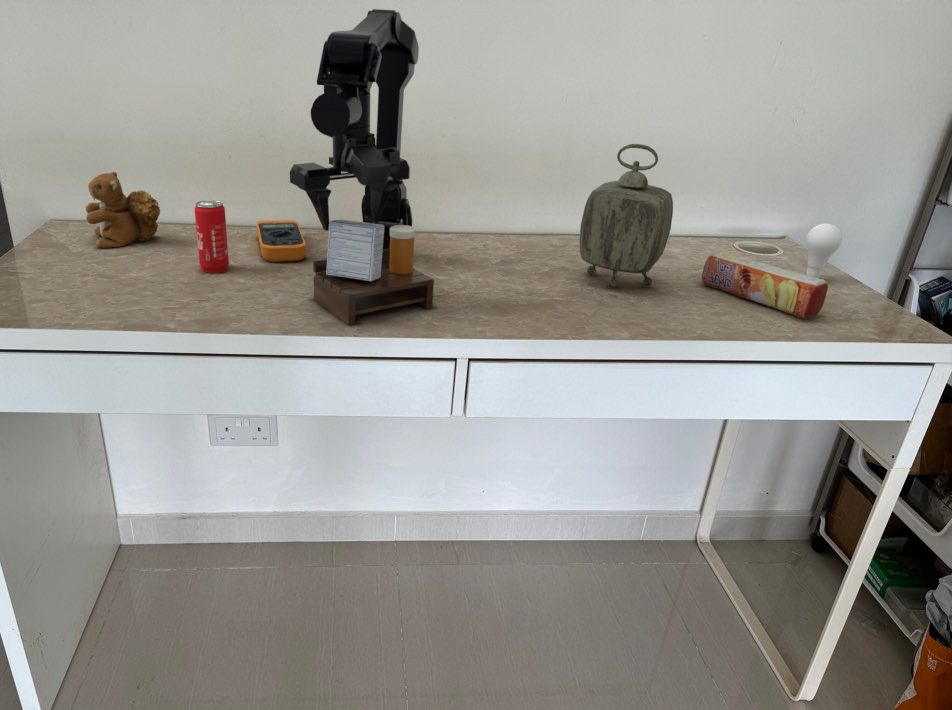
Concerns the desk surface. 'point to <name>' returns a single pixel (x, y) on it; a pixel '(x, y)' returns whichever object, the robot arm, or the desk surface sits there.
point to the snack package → (766, 284)
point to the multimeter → (281, 240)
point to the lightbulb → (821, 247)
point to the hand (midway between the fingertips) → (351, 226)
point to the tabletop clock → (626, 223)
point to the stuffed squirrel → (120, 213)
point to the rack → (370, 290)
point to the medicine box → (355, 249)
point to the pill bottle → (401, 249)
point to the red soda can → (211, 236)
